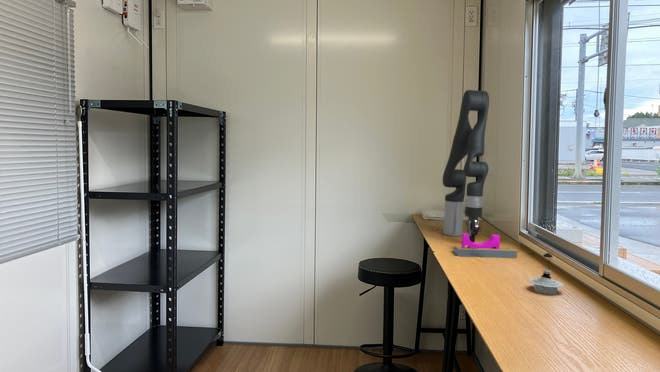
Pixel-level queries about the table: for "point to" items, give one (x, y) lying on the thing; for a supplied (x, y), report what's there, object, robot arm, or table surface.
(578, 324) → the table surface
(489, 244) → the toy block
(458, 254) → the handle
